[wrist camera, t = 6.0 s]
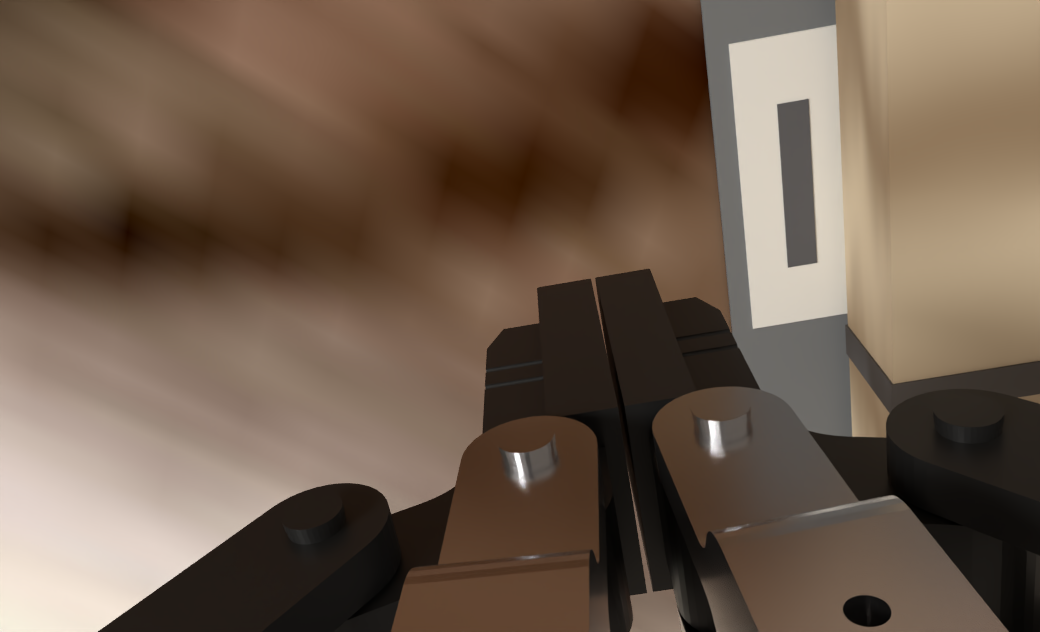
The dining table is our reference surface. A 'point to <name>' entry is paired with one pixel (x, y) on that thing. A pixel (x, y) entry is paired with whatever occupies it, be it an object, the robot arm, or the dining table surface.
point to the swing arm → (939, 199)
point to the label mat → (783, 198)
